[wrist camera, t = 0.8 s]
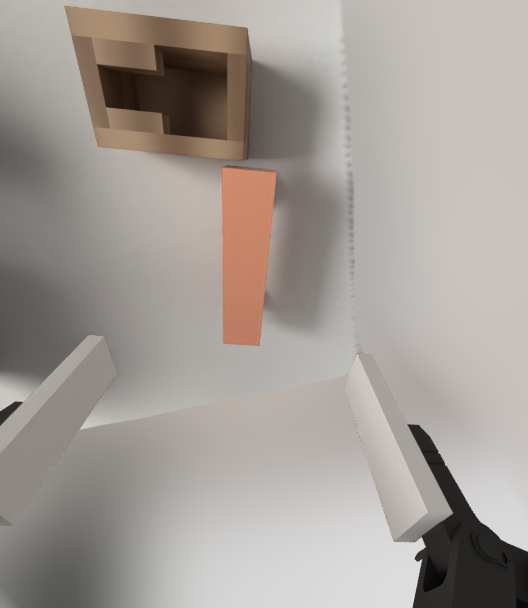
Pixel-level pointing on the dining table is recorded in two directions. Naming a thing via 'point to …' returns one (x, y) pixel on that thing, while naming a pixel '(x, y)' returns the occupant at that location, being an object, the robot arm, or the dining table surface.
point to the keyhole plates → (164, 83)
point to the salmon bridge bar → (245, 250)
